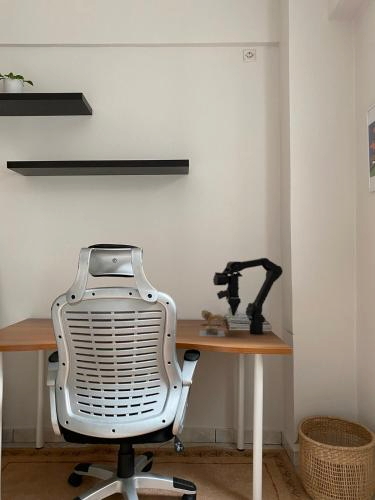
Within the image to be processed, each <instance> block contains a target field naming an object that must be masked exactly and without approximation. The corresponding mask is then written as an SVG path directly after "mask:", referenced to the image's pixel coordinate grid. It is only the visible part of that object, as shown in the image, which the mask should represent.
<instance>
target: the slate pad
mask: <svg viewBox="0 0 375 500" xmlns="http://www.w3.org/2000/svg"><path fill="white" fill-rule="evenodd" d="M199 337H226V334H225V331H224V330H218V335H207V334H206V330H199Z"/></svg>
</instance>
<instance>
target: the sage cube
mask: <svg viewBox="0 0 375 500" xmlns="http://www.w3.org/2000/svg"><path fill="white" fill-rule="evenodd" d="M227 311H228V312H227V316H228V318H230V319H231V318H232V319H233V318H234V319H238V312H239V310H238V308H237V310H236V313H235V315H234V316H232V312H231V308H230V307H228V308H227Z"/></svg>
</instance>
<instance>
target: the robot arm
mask: <svg viewBox="0 0 375 500" xmlns="http://www.w3.org/2000/svg"><path fill="white" fill-rule="evenodd" d="M255 267H262V268H263V269H264V270H265V271H266V272H265V279H264V281H263V283H262V285H261V287H260V290H259V291H258V294H257V295H256V297H255V298H254V301H253V302H249V303H248V304H247V307H246V308H245V314H246V317H247V318H248V321H250V322H249V325H248V329H249V330H248V331H249V333H250V334H251V335H258V334H259V335H264V330H263V329H264V323H266V318H265V316H264V315H262V314H263V304H264V303H265V301H266V299H267V297H268V295H269V293H270V291H271V289H272V287H273V285H274V283H275V282H276V281H278V279H280V277H281V276H282V274H283V268H282V267H281V265H277V264H276V263H275V262H273V261H271V260H270V259H268V258H267V257H260V258H256V259H251V260H245V261H244V260H243V261H233V260H232V261H228V262H227V263H226V265H225V268H224V269H223V271H222V272H219V271H218V272H217V271H216V272H214V276H213V278H212V280H213V281H212V282H213V285H214V286H227V287H226V289H225V290H219V291H218V292H216V295H217V298H218V300H222V299H223V298H225V300H226V302H227V304H228V305H229V308H231V312H232V316H234V315H235V313H236V310H237V309H238V308H239V306H240V304H241V298H240V295H239V289H240V287H239V280H240V279H239V278H240V277H243V275H242V274H241V272H242V271H243V270H245V269H250V268H255Z"/></svg>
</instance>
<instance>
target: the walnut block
mask: <svg viewBox="0 0 375 500" xmlns="http://www.w3.org/2000/svg"><path fill="white" fill-rule="evenodd" d="M218 327H219V326H206V329H205V331H206V334H207V335H218V331H219V328H218Z"/></svg>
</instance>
